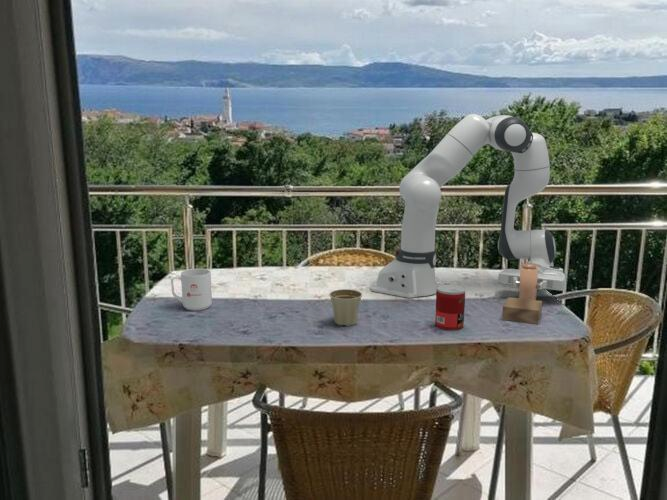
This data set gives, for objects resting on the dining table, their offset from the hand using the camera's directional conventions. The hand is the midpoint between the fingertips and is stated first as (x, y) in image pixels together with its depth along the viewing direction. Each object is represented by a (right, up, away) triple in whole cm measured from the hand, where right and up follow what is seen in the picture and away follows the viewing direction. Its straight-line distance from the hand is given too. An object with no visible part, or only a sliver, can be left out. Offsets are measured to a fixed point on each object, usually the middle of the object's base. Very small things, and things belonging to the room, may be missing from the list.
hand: (527, 285), depth 198 cm
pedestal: (-4, -9, -9) cm, 13 cm away
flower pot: (-56, -10, -14) cm, 59 cm away
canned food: (-27, -11, -16) cm, 33 cm away
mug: (-104, -7, 0) cm, 104 cm away
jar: (0, -6, +2) cm, 7 cm away
